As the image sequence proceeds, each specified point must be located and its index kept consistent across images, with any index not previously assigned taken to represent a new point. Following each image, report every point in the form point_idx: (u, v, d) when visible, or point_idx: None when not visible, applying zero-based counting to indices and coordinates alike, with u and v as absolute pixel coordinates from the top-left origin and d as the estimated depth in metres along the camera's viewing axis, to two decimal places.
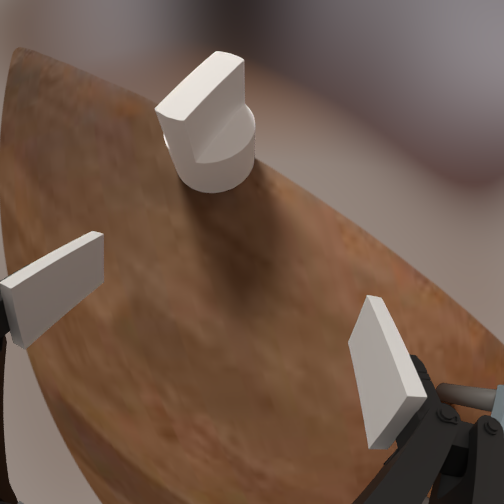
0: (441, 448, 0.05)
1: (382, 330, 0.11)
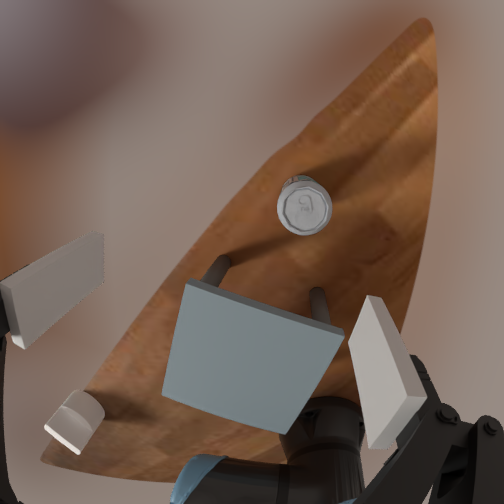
0: (441, 448, 0.05)
1: (382, 330, 0.11)
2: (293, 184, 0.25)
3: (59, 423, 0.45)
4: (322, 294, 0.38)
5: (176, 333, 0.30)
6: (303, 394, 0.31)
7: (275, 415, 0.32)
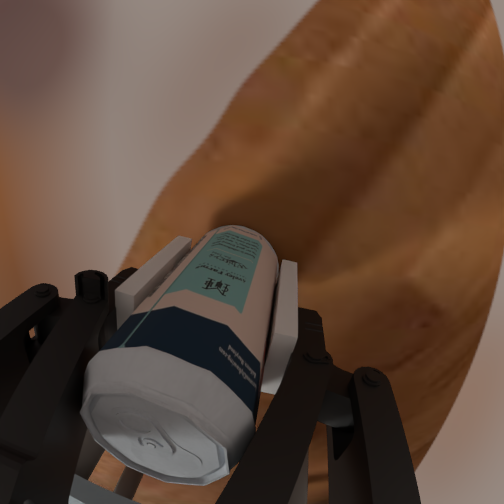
0: (316, 388, 0.07)
1: (280, 284, 0.13)
2: (98, 361, 0.06)
3: None
4: None
5: None
6: None
7: None
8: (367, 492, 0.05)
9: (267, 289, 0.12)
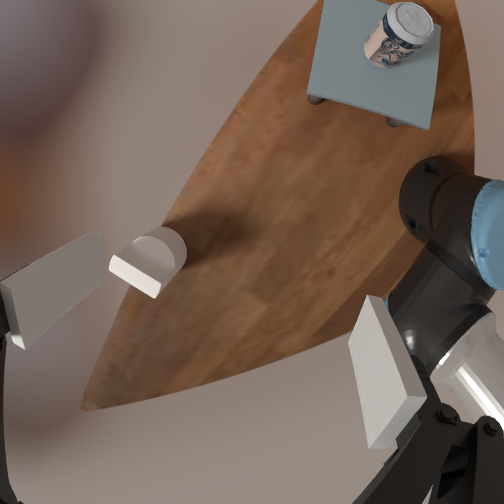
0: (441, 448, 0.05)
1: (382, 330, 0.11)
2: None
3: (131, 255, 0.45)
4: None
5: (322, 21, 0.29)
6: (431, 74, 0.29)
7: (416, 100, 0.30)
8: None
9: None
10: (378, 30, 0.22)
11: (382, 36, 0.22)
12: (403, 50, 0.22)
